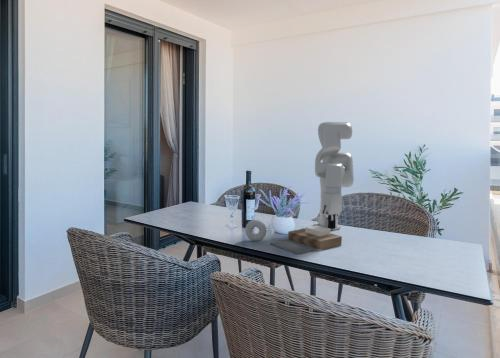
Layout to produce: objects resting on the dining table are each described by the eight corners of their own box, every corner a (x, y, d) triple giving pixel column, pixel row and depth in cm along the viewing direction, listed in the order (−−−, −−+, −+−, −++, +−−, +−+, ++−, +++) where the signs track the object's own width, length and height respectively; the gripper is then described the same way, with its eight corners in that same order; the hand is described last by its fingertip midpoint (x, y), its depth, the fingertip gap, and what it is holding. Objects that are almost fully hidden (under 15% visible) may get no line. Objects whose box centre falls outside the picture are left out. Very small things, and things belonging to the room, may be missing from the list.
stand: (288, 239, 177) (288, 231, 177) (309, 235, 186) (309, 227, 185) (320, 250, 161) (320, 241, 161) (341, 245, 170) (341, 236, 169)
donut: (244, 241, 174) (244, 220, 173) (245, 239, 177) (246, 218, 176) (265, 242, 172) (266, 221, 171) (266, 240, 175) (267, 219, 174)
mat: (270, 244, 169) (270, 243, 169) (288, 240, 176) (288, 239, 176) (298, 254, 155) (298, 253, 155) (316, 250, 162) (316, 248, 162)
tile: (305, 232, 176) (305, 227, 176) (315, 230, 180) (315, 225, 180) (319, 236, 169) (319, 231, 168) (330, 234, 173) (330, 229, 173)
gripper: (337, 188, 185) (335, 224, 187) (316, 190, 176) (314, 228, 178) (349, 190, 180) (347, 227, 182) (328, 192, 171) (327, 232, 173)
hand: (331, 228), depth 180 cm, fingers closed
